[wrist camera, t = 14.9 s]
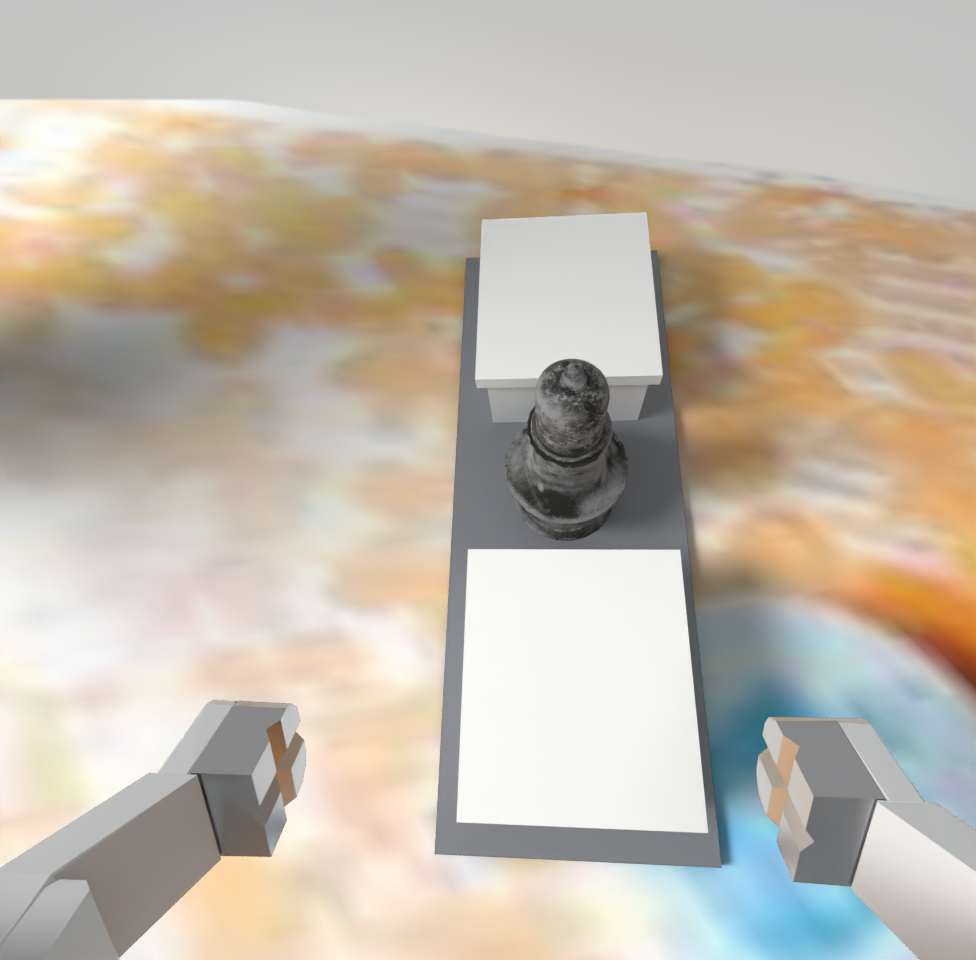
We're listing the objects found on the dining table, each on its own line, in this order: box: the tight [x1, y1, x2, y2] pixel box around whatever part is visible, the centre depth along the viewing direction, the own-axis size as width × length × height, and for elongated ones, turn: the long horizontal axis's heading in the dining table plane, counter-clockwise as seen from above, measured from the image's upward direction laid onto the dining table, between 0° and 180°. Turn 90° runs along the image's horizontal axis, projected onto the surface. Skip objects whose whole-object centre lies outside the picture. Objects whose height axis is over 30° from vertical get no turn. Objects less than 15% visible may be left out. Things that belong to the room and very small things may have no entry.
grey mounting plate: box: [435, 212, 722, 868], centre depth 30 cm, size 12×33×5 cm, turn 178°
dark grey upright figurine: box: [505, 359, 629, 541], centre depth 27 cm, size 6×6×12 cm
